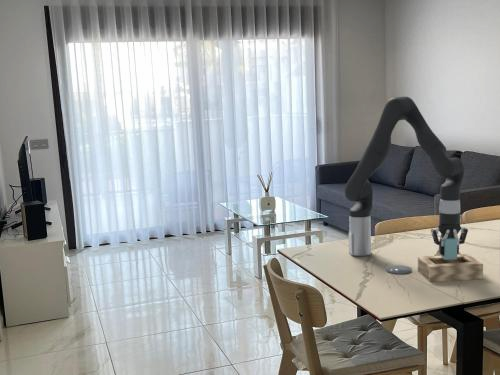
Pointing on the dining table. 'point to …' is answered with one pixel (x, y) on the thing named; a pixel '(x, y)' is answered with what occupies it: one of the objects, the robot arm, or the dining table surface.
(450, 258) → the block
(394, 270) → the coaster
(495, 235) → the dining table surface
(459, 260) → the box
